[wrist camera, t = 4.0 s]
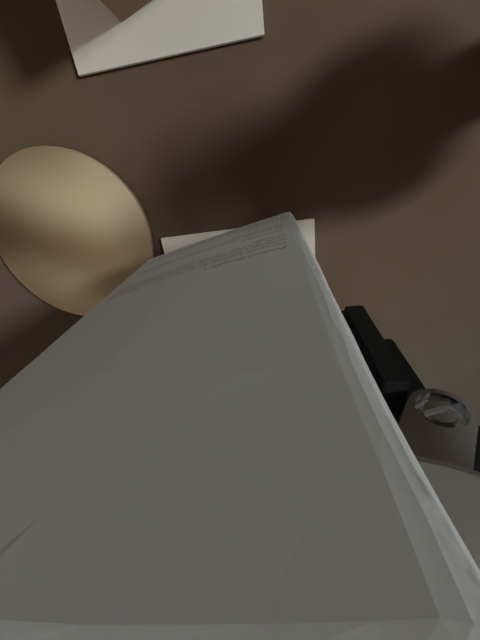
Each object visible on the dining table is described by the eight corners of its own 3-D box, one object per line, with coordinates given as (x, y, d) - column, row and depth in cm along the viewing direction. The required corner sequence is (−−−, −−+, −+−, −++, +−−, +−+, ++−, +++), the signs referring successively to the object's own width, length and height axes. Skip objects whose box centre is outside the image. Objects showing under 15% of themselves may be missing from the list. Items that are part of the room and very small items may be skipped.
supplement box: (203, 371, 17) (83, 760, 6) (145, 256, 14) (-357, 657, 3) (328, 345, 15) (479, 825, 4) (297, 205, 12) (613, 762, 1)
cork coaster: (-38, 162, 16) (-48, 161, 16) (125, 132, 15) (120, 130, 14) (40, 318, 20) (34, 321, 20) (171, 306, 19) (169, 309, 19)
